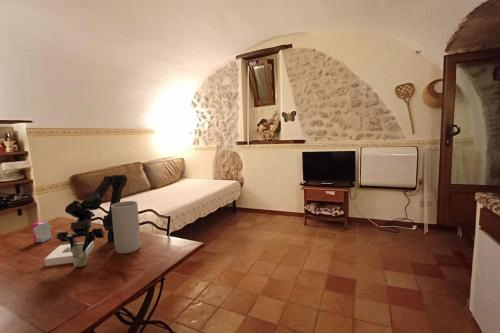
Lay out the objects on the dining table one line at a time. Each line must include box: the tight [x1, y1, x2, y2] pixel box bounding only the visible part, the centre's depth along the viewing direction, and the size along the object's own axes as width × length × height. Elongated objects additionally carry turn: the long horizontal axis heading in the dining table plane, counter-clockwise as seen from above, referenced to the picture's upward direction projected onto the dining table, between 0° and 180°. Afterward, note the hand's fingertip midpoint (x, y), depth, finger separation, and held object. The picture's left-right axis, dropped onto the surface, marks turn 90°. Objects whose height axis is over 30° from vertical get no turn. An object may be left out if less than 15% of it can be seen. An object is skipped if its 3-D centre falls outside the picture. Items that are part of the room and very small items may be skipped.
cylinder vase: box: [111, 200, 142, 255], centre depth 135 cm, size 12×12×25 cm
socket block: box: [44, 240, 95, 267], centre depth 130 cm, size 16×16×4 cm
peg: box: [72, 242, 88, 268], centre depth 118 cm, size 4×4×10 cm
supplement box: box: [32, 220, 52, 244], centre depth 150 cm, size 6×6×12 cm
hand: (77, 252), depth 117 cm, fingers closed on peg, 4 cm apart
